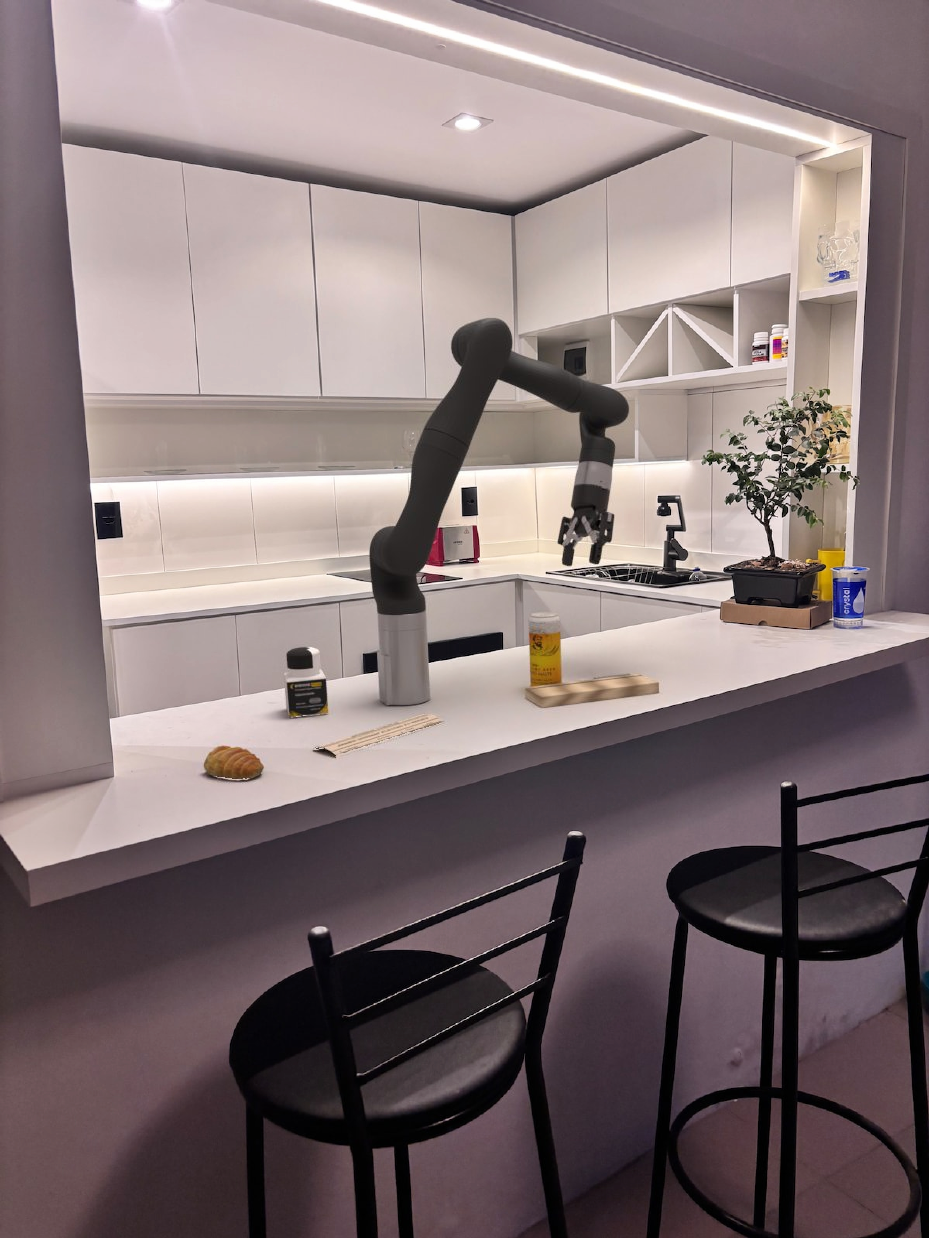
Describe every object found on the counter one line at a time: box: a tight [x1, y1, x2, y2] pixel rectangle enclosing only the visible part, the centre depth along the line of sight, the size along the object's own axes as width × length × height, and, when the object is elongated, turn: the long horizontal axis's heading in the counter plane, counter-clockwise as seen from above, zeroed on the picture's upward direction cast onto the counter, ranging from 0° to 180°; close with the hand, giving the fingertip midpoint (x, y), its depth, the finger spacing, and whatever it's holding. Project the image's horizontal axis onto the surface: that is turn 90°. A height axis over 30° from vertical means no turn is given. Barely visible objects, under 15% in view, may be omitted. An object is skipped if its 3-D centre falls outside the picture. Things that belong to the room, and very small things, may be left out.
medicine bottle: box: [283, 646, 329, 717], centre depth 164 cm, size 7×7×12 cm
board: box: [524, 673, 660, 708], centre depth 168 cm, size 24×8×2 cm, turn 108°
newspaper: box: [314, 713, 444, 755], centre depth 147 cm, size 24×7×2 cm, turn 136°
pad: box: [593, 673, 632, 679], centre depth 178 cm, size 8×7×1 cm
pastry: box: [203, 745, 265, 779], centre depth 131 cm, size 9×7×4 cm
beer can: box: [528, 611, 563, 687], centre depth 172 cm, size 6×6×15 cm
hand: (580, 564), depth 180 cm, fingers open, 8 cm apart
